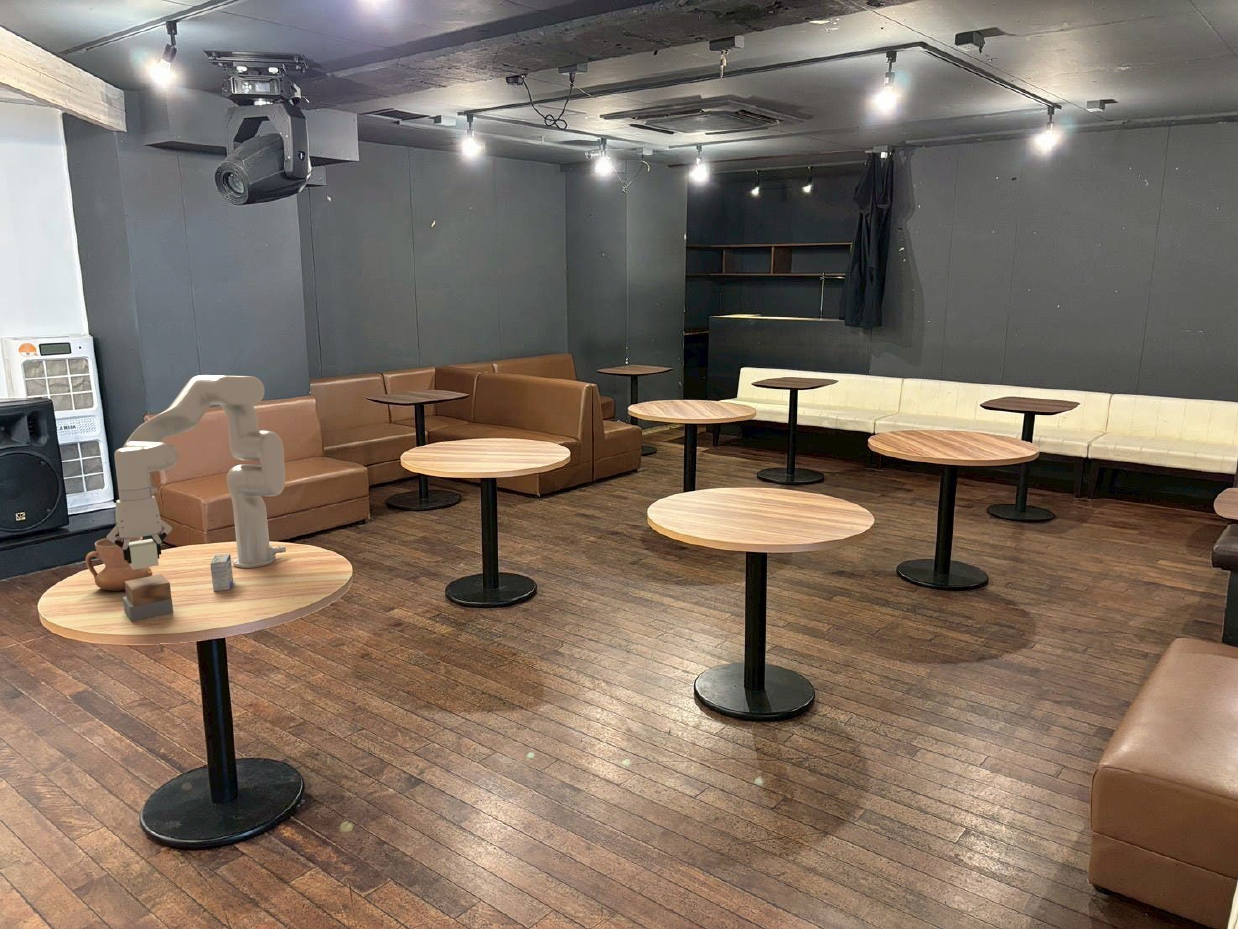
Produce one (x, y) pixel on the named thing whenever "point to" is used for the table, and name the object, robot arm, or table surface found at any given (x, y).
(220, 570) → the medicine box
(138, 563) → the cream cube
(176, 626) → the table surface
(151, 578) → the tower top block
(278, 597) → the table surface
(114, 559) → the ceramic jug
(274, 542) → the table surface
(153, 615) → the tower base block
